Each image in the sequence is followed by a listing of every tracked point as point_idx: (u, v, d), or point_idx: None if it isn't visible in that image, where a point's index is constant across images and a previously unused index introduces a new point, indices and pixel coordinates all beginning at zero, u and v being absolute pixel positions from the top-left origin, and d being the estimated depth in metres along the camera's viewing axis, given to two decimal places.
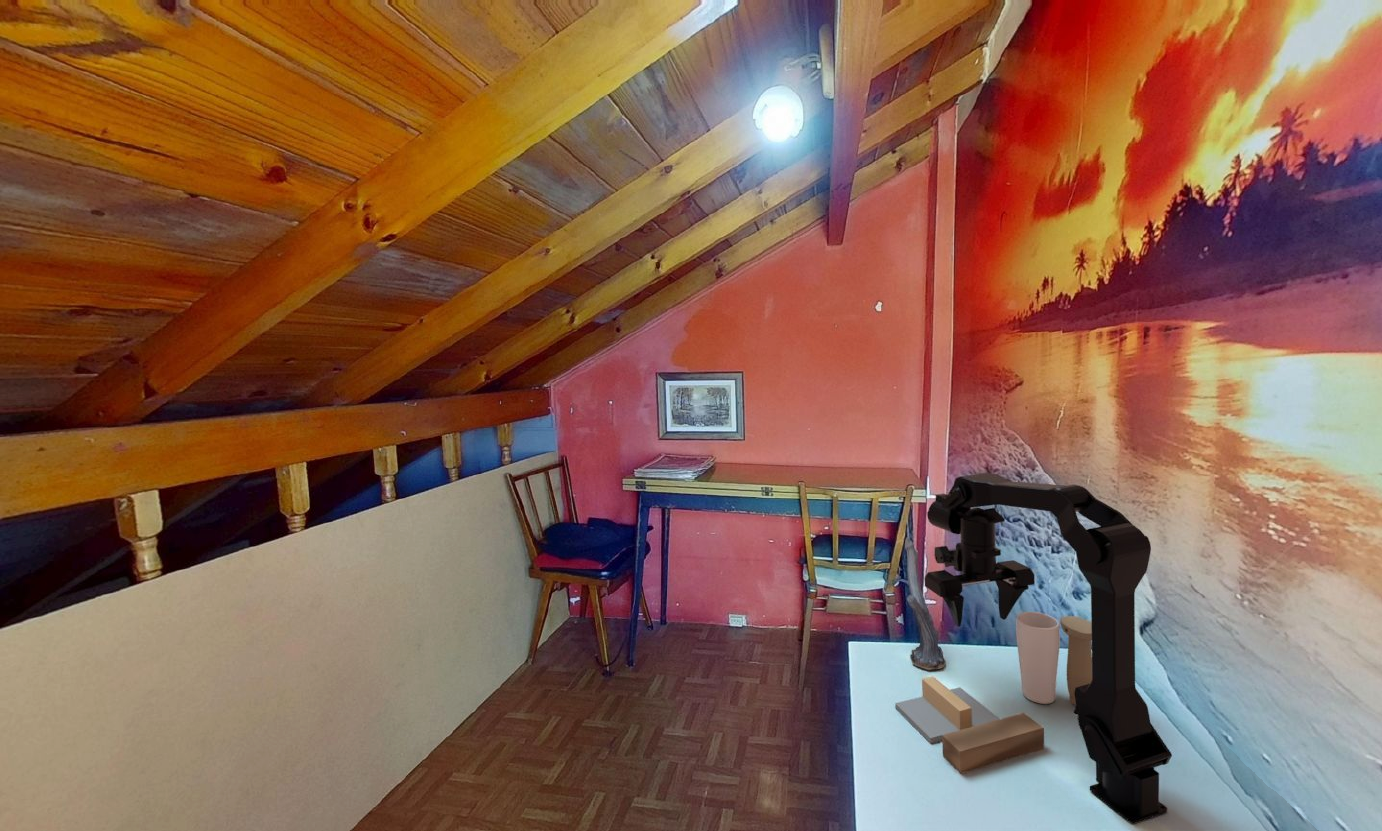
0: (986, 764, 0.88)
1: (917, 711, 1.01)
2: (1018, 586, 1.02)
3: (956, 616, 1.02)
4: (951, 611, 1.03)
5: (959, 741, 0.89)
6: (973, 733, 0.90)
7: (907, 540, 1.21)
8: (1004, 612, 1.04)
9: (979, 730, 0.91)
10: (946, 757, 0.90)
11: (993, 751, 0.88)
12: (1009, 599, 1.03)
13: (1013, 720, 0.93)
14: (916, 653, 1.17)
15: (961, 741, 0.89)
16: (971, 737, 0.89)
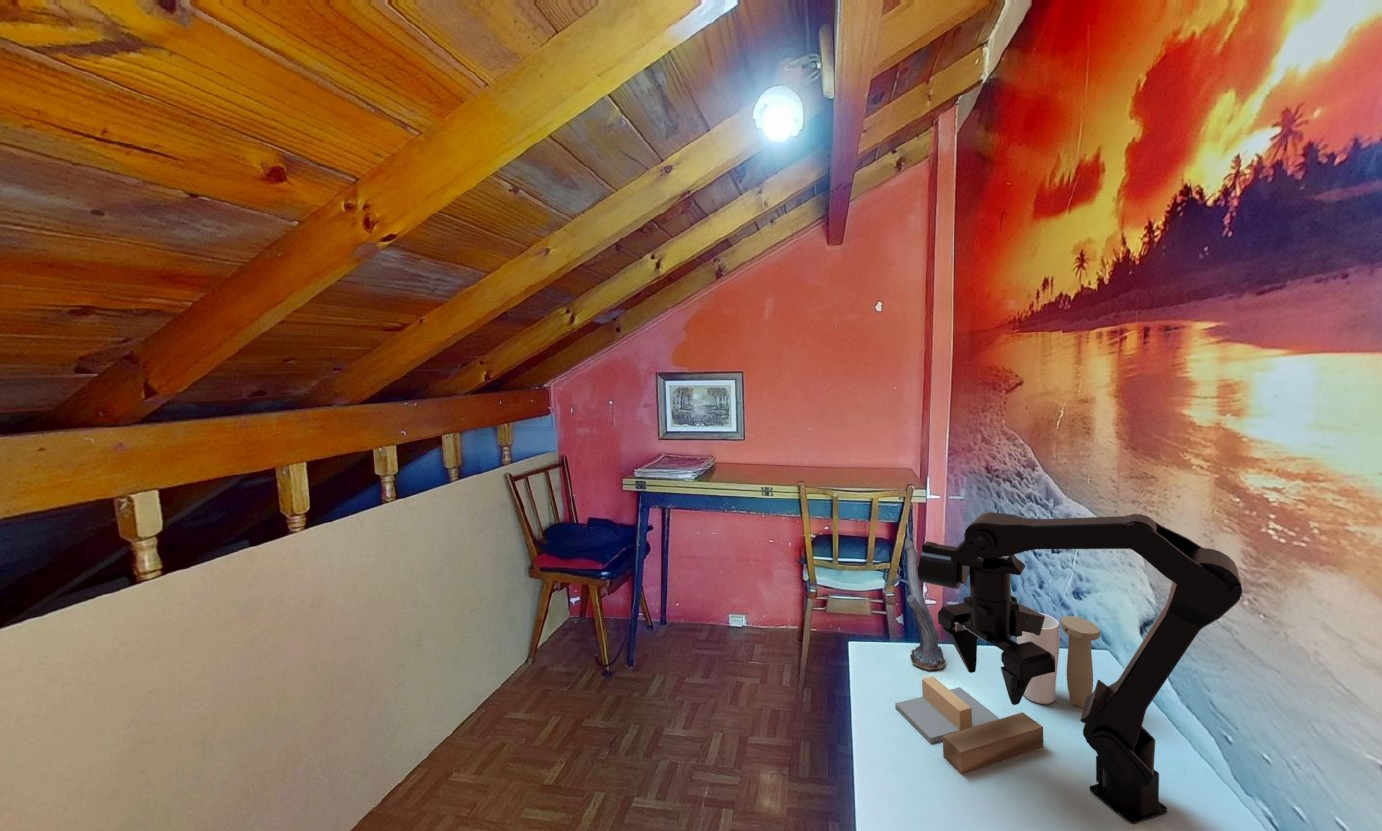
0: (987, 764, 0.88)
1: (917, 711, 1.01)
2: None
3: None
4: None
5: (959, 742, 0.89)
6: (973, 734, 0.90)
7: (907, 540, 1.21)
8: None
9: (979, 730, 0.91)
10: (947, 758, 0.90)
11: (994, 752, 0.88)
12: None
13: (1012, 720, 0.93)
14: (916, 653, 1.17)
15: (962, 741, 0.89)
16: (971, 737, 0.89)
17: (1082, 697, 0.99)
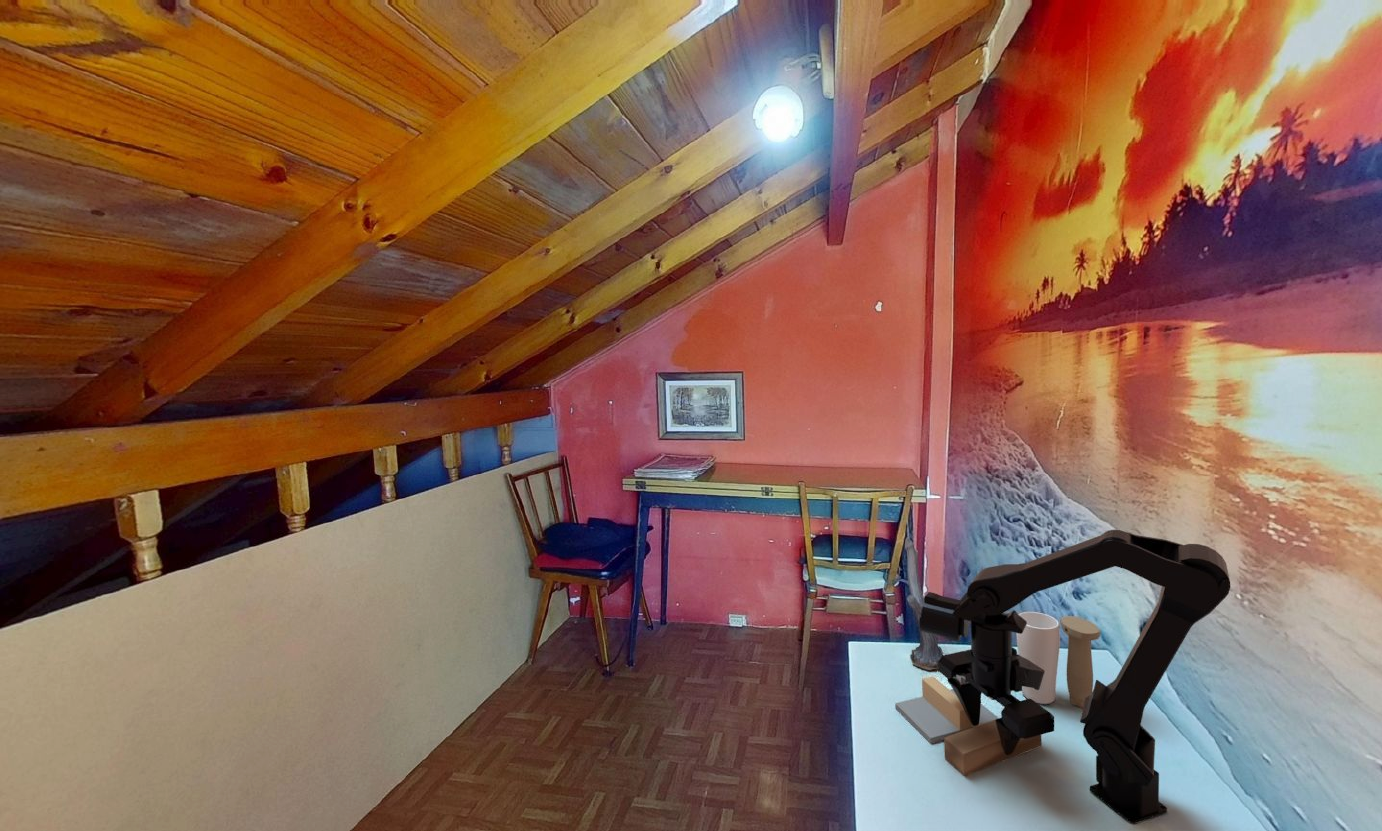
0: (988, 765, 0.88)
1: (917, 711, 1.01)
2: None
3: None
4: None
5: (961, 743, 0.88)
6: (974, 734, 0.90)
7: (907, 540, 1.21)
8: None
9: (979, 731, 0.91)
10: (948, 760, 0.89)
11: (995, 752, 0.88)
12: None
13: None
14: (916, 653, 1.17)
15: (963, 743, 0.88)
16: (972, 738, 0.89)
17: (1082, 697, 0.99)
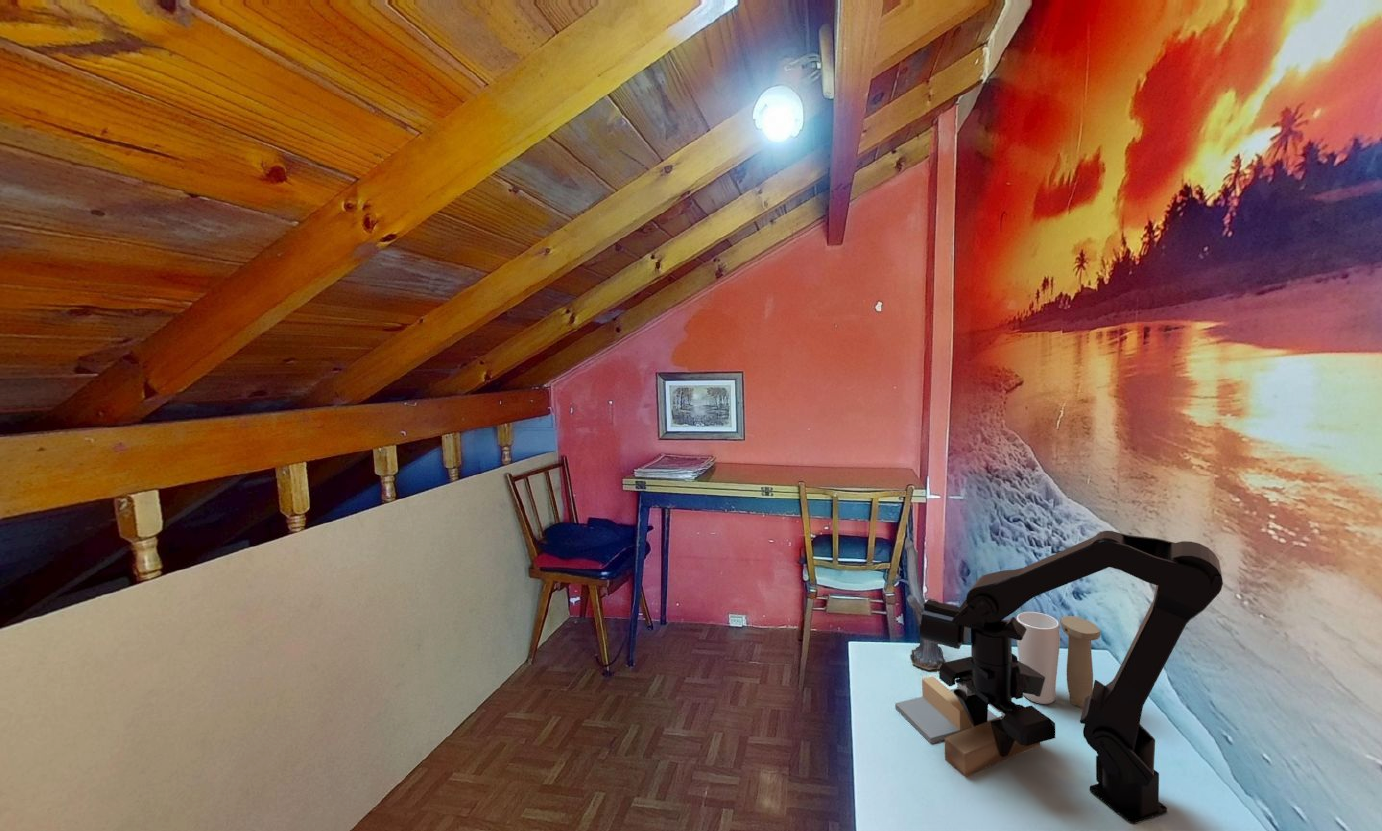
0: (988, 764, 0.88)
1: (917, 711, 1.01)
2: (1000, 725, 0.86)
3: None
4: None
5: (962, 743, 0.88)
6: (974, 734, 0.90)
7: (907, 540, 1.21)
8: None
9: (979, 730, 0.91)
10: (949, 760, 0.89)
11: (995, 751, 0.88)
12: None
13: None
14: (916, 653, 1.17)
15: (964, 743, 0.88)
16: (973, 738, 0.89)
17: (1082, 697, 0.99)
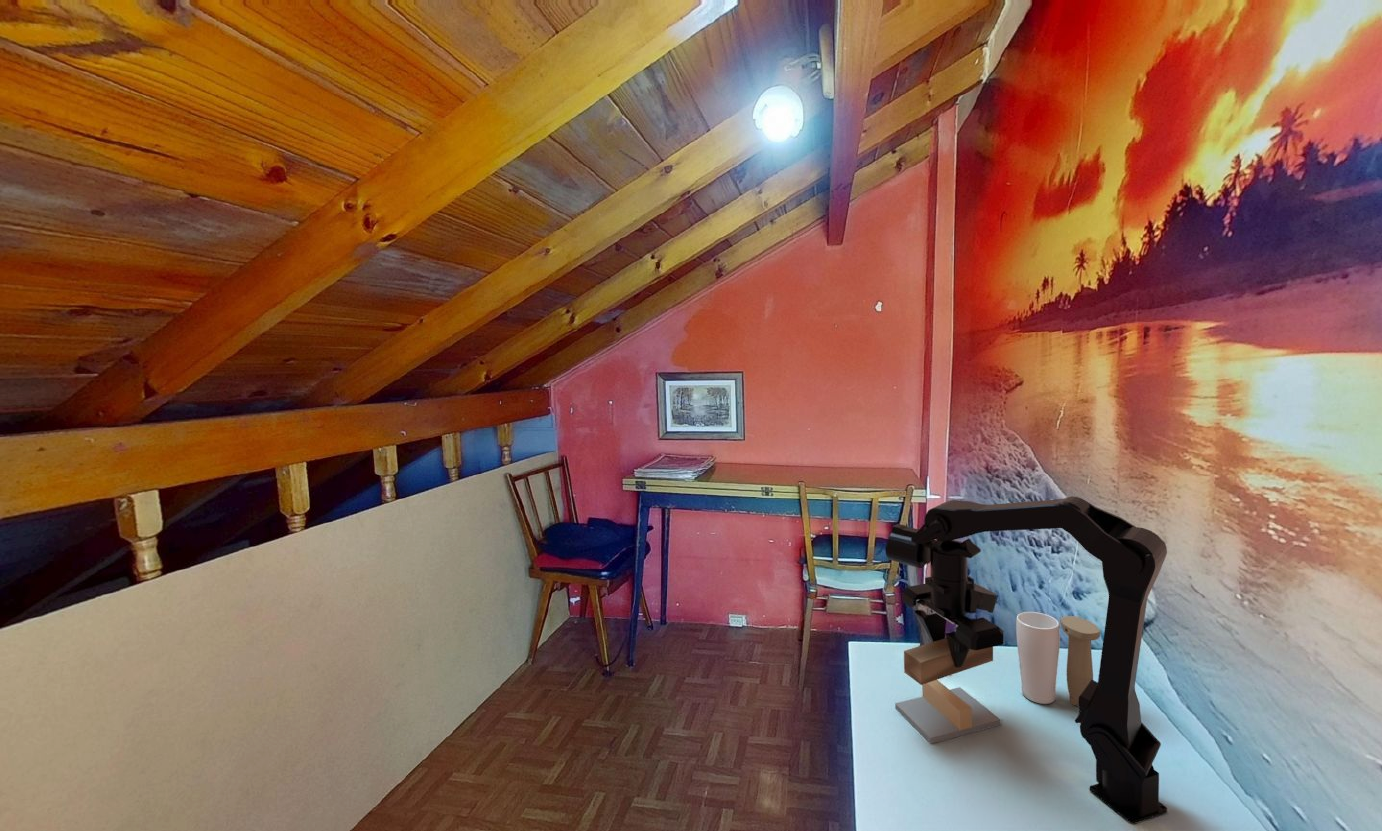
0: (943, 674, 0.95)
1: (917, 711, 1.01)
2: (954, 635, 0.92)
3: None
4: None
5: (919, 654, 0.95)
6: (932, 648, 0.97)
7: None
8: None
9: (936, 645, 0.97)
10: (907, 671, 0.96)
11: (950, 662, 0.95)
12: None
13: None
14: None
15: (921, 654, 0.95)
16: (930, 651, 0.96)
17: None
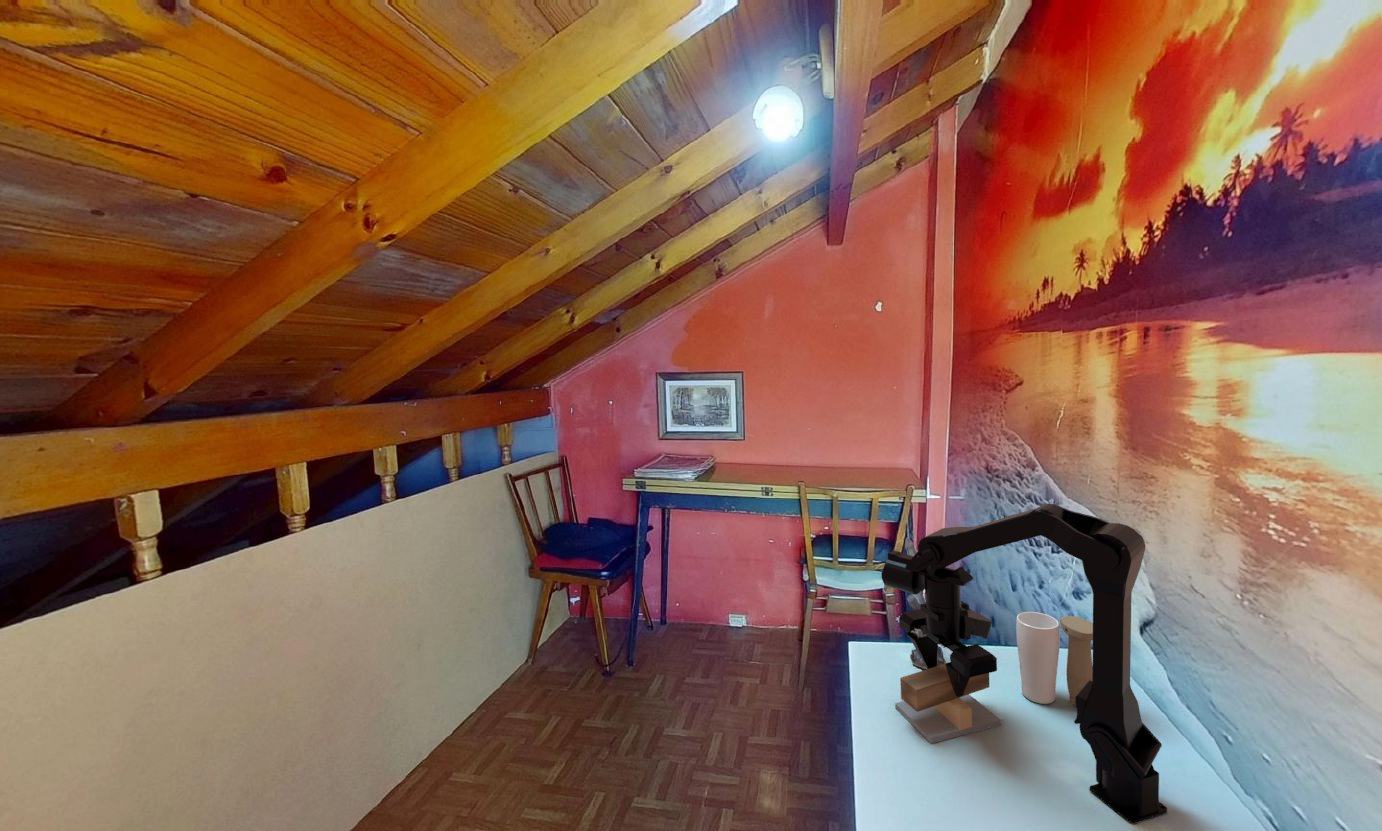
0: (939, 701, 0.97)
1: None
2: None
3: None
4: None
5: (915, 681, 0.97)
6: (928, 674, 0.99)
7: (907, 540, 1.21)
8: None
9: (933, 672, 0.99)
10: (904, 697, 0.98)
11: (946, 689, 0.97)
12: None
13: None
14: (916, 653, 1.17)
15: (917, 681, 0.97)
16: (926, 678, 0.98)
17: None
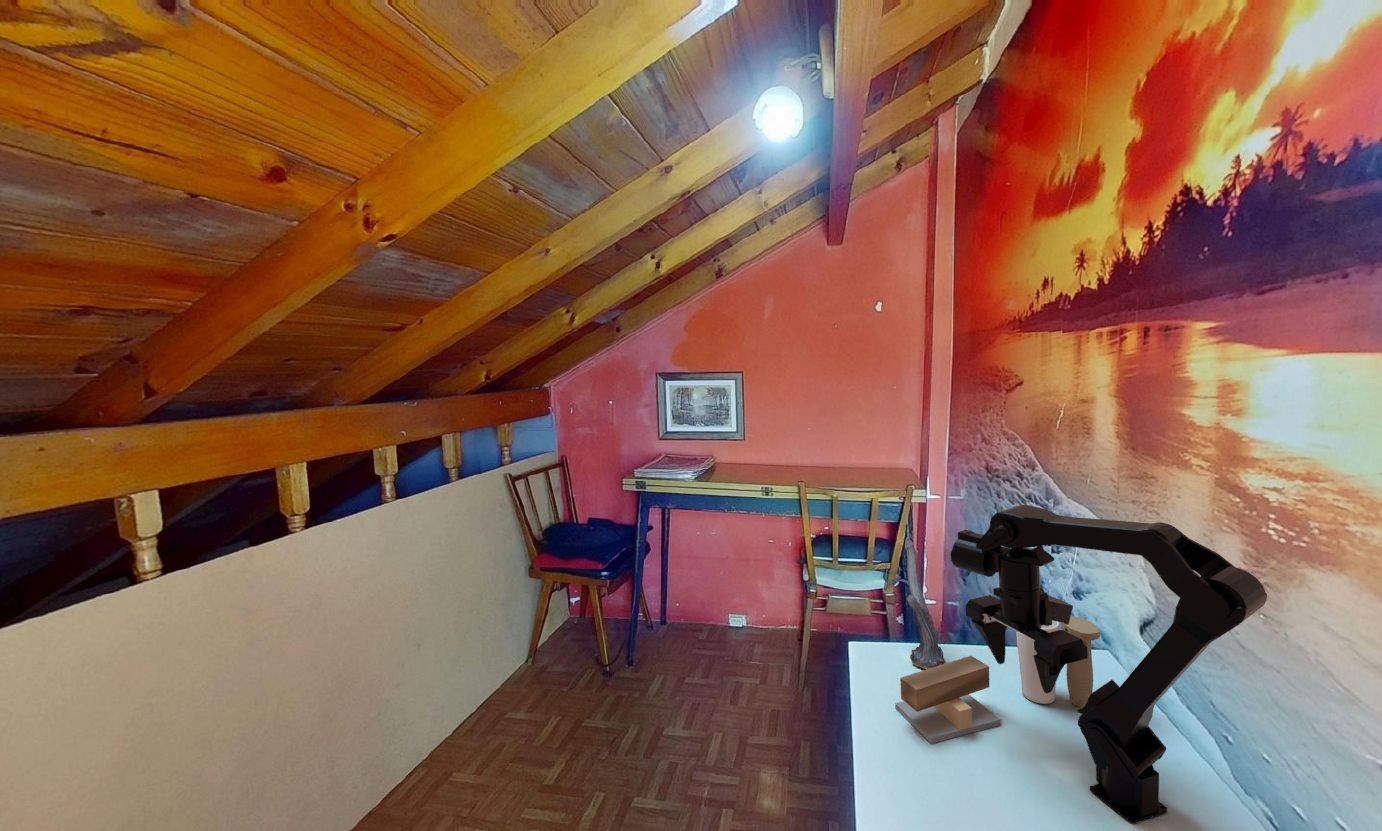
0: (939, 701, 0.97)
1: None
2: None
3: None
4: None
5: (915, 681, 0.97)
6: (928, 674, 0.99)
7: (907, 540, 1.21)
8: None
9: (933, 672, 0.99)
10: (904, 697, 0.98)
11: (946, 689, 0.97)
12: None
13: (962, 662, 1.02)
14: (916, 653, 1.17)
15: (917, 681, 0.97)
16: (926, 678, 0.98)
17: (1082, 697, 0.99)
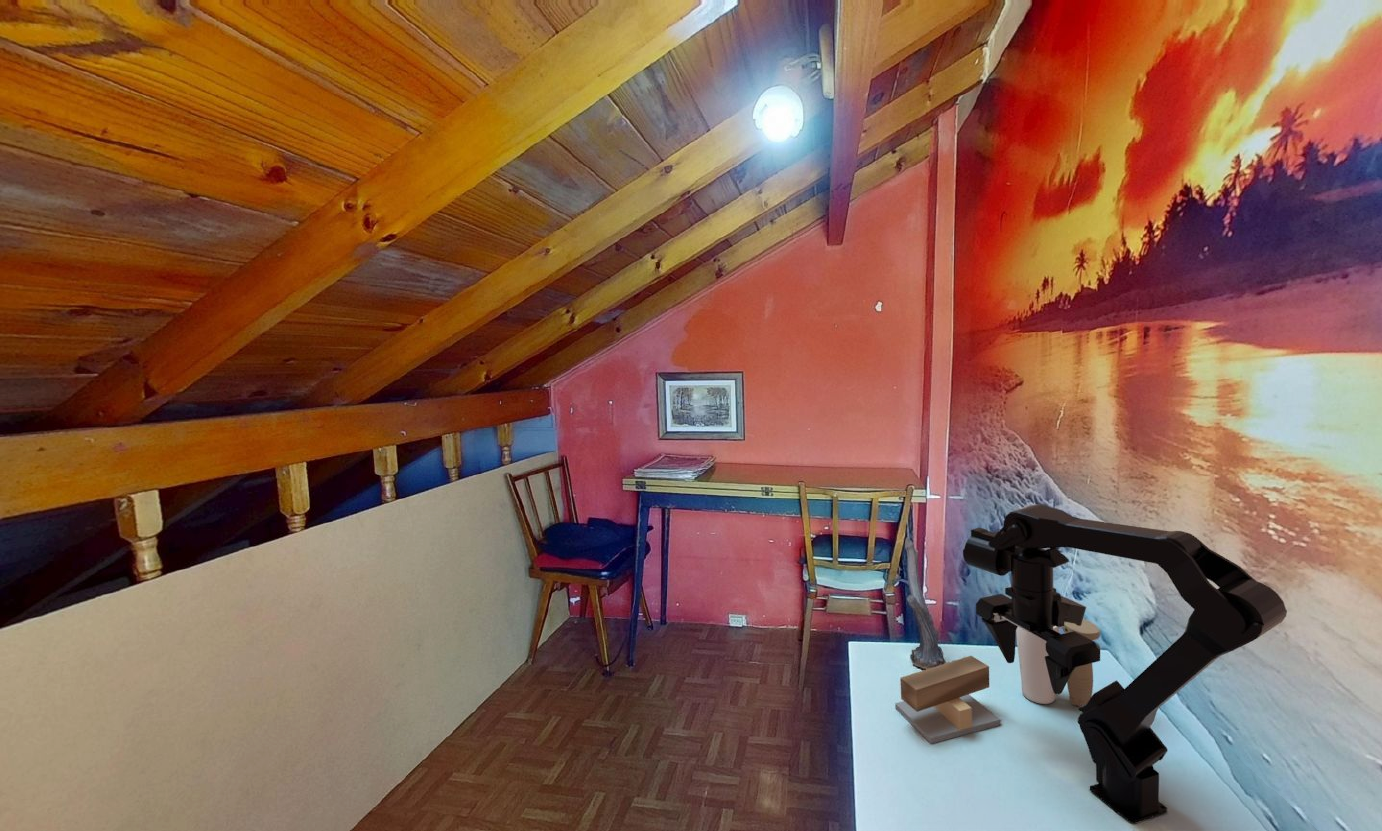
0: (939, 701, 0.97)
1: None
2: None
3: None
4: None
5: (915, 681, 0.97)
6: (928, 674, 0.99)
7: (907, 540, 1.21)
8: None
9: (933, 672, 0.99)
10: (904, 697, 0.98)
11: (946, 689, 0.97)
12: None
13: (962, 662, 1.02)
14: (916, 653, 1.17)
15: (917, 681, 0.97)
16: (926, 678, 0.98)
17: (1082, 697, 0.99)
